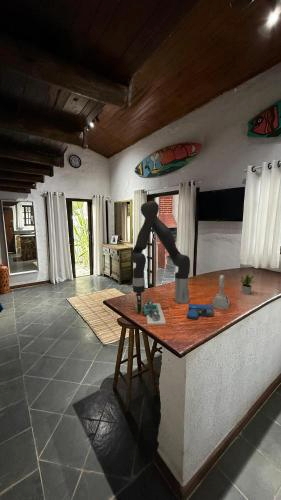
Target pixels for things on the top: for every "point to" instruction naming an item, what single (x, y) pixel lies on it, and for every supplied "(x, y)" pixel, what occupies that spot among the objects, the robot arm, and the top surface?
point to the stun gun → (199, 311)
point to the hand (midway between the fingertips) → (139, 308)
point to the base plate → (161, 321)
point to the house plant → (246, 284)
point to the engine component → (221, 296)
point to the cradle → (148, 307)
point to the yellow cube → (137, 306)
